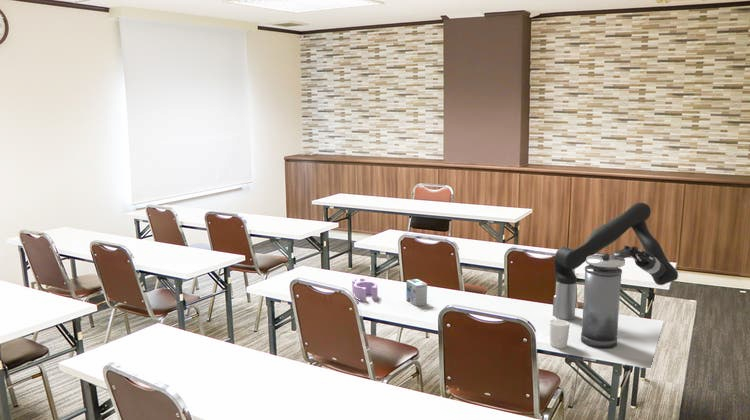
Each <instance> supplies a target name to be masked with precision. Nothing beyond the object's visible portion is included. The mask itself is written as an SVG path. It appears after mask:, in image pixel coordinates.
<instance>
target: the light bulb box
mask: <svg viewBox="0 0 750 420" xmlns="http://www.w3.org/2000/svg"><path fill="white" fill-rule="evenodd" d="M405 294H406V297H405V298H406V301H407V300H408V302H409V303H410V302H411V303H410V304H412V305H414V306H415V305H418V306H423V304H425V305H427V304H428V300H427V299H428V296H427V295H428V283H426V282H424V281H422V280H420V279H418V278H415V279H414V278H413V279H407V280H406V293H405Z"/></svg>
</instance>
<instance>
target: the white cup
mask: <svg viewBox="0 0 750 420" xmlns="http://www.w3.org/2000/svg"><path fill="white" fill-rule="evenodd" d="M569 333H570V321H568V320H565V319H559V318H557V319H556V318H553V319H551V320H550V321H549V341H550V342H549V344H550V346H551V347H552V348H555V349H565V348H567V347H568V340H569Z"/></svg>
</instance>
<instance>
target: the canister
mask: <svg viewBox="0 0 750 420" xmlns="http://www.w3.org/2000/svg"><path fill="white" fill-rule="evenodd" d="M622 274H623V270H622V268H621V267H618V268H600V267H595V266H591V265H589V264H587V265H586V266H584V285H583V286H584V287H583V288H584V291H583V305H582V308H583V309H582V322H581V334H580V341H581V344H583V345H584V346H587V347H591V348H594V349H599V350H601V349H602V350H609V349H614V348H616V347H617V346H618V329H619V328H618V327H619V317H620V316H619V313H620V312H619V311H620V299H621V284H622Z"/></svg>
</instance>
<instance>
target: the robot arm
mask: <svg viewBox="0 0 750 420" xmlns="http://www.w3.org/2000/svg"><path fill="white" fill-rule="evenodd" d="M651 213H652V211H651V208H650V205H648V204H647V203H645V202H637V203H634V204H632V205H631V206H630V207H629V208H627V210H625V211H624V212H623V213H622V214H620V215H618V216H617V217H615V218H613V219H611V220H609V221H607V222H606V223H604V224H602V225H601V226H599V227H598V228H596V229H594V230H593V231H592V232H591V233H590V234H589V237H588V238H587V240H586V241H585V243H583V244H582V245H580V246H579V247H577V248H575V249H572V248H570V247H566V246H563V247H559V249H558V250H557V251H556V252H555V256H554V276H555V295H553V301H552V302H553V303H552V315H553V316H554V317H555V318H557V319H560V320H565V321H568V320H570V321H571V320H574V319H576V302H577V301H576V300H577V283H578V280H577V279H578V278H577V276H576V274H575V273H574V271H573V270H575V269H578V268H579V267H580V266H581V265H583V264H584V263H586V258H587V257H588V256H591V255H597V254H598V253H599V252H600V251H601V250H603V249H604V248H607V247H608V246H609V245H611V244H613V243H615V241H617V240H618V239H619V238H620V237H622V236H623V235H624V234H625V233H626V232H627V231H628V230H629V229H630V228H631V229H632V230H633V233H635V235H636V236H637V238H638V240H639V241H640V243H641V245H642V247H643V249H644V250H640V249H638V250H637V249H636V248H635V247H636V246H634V247H632V246H629V245H627V244H625V245H624V247H623V249H626V248H629V247H631V249H630V251H631V252H632V253H633V254H635V255H634V256H630V258H632V259H633V260H634V263H635V265H636V266H637V267H639V268H640V269H641V270H642V271H645V272H646V273H648V274H649V275H650V276H651V277H652V279H653V281H654V283H655V284H656V285H658V286H664V285H666V284H669V283H671V282H675V281H677V280H678V277H679V274H678V271H677V269H676V267H674V266H673V265H672V264H671V262H670V261H669V260H668V258H667V257H666V255H665V252H664V251H663V248H662V246H661V244H660V243H659V242H658V240H657V239H656V238H655V237H654V236H653V235H652V234H651V232H650V231H649V228H648V226H647V220H649V218H650V216H651Z"/></svg>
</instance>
